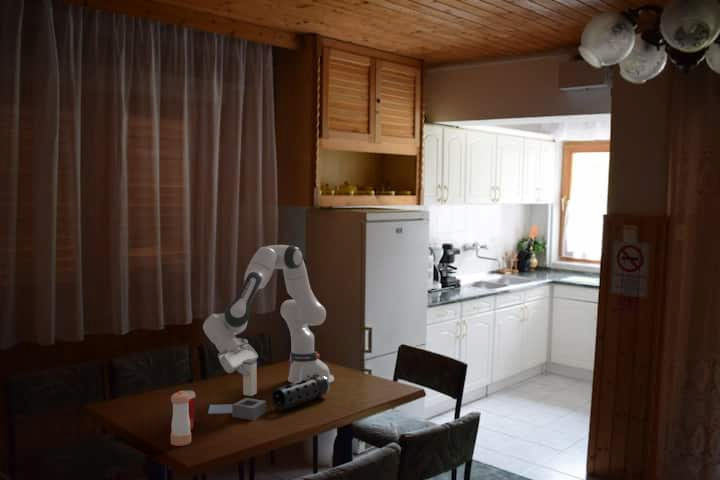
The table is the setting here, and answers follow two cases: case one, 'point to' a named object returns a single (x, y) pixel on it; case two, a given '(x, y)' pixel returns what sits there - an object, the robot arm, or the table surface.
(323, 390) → the muzzle brake
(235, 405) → the header
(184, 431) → the pepper shaker
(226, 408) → the mat
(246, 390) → the plug
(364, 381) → the table surface
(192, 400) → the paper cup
